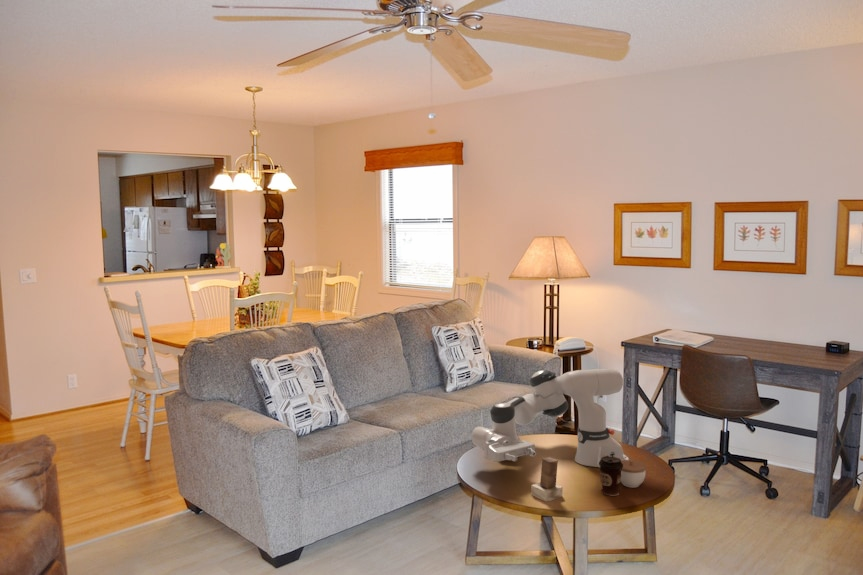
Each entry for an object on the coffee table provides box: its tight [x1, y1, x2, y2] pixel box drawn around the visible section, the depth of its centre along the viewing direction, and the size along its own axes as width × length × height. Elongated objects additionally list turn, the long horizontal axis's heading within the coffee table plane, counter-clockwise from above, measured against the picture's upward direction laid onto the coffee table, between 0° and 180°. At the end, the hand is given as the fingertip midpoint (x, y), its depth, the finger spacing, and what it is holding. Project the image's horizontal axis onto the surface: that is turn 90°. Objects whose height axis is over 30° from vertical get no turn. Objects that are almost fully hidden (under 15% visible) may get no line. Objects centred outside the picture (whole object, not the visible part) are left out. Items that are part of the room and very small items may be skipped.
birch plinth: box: [530, 482, 563, 503], centre depth 251 cm, size 8×8×4 cm
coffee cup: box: [599, 456, 623, 497], centre depth 252 cm, size 9×8×13 cm
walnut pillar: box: [539, 456, 559, 489], centre depth 250 cm, size 4×4×10 cm
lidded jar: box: [620, 459, 647, 489], centre depth 260 cm, size 11×11×9 cm
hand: (525, 456), depth 259 cm, fingers open, 8 cm apart
